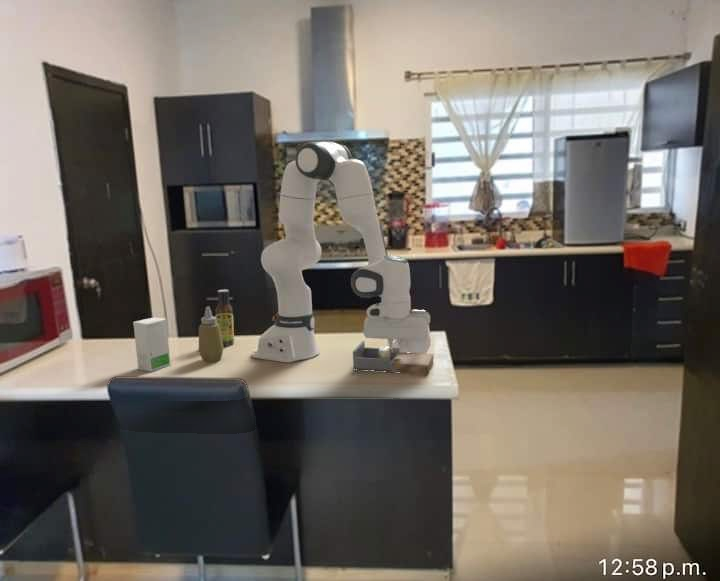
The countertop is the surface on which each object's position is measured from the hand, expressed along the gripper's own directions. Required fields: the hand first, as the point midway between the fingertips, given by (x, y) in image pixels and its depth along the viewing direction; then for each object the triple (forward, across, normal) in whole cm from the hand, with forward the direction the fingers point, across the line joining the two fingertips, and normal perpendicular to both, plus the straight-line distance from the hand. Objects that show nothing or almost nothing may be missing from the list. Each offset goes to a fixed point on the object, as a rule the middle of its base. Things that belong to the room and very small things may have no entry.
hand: (396, 352), depth 174 cm
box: (+5, +6, 0) cm, 8 cm away
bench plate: (+5, -5, 0) cm, 7 cm away
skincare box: (+5, +76, +14) cm, 78 cm away
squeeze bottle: (+5, +62, +4) cm, 62 cm away
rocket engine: (+5, -1, -17) cm, 18 cm away
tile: (+1, +3, 0) cm, 3 cm away
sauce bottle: (+5, +66, -12) cm, 67 cm away
